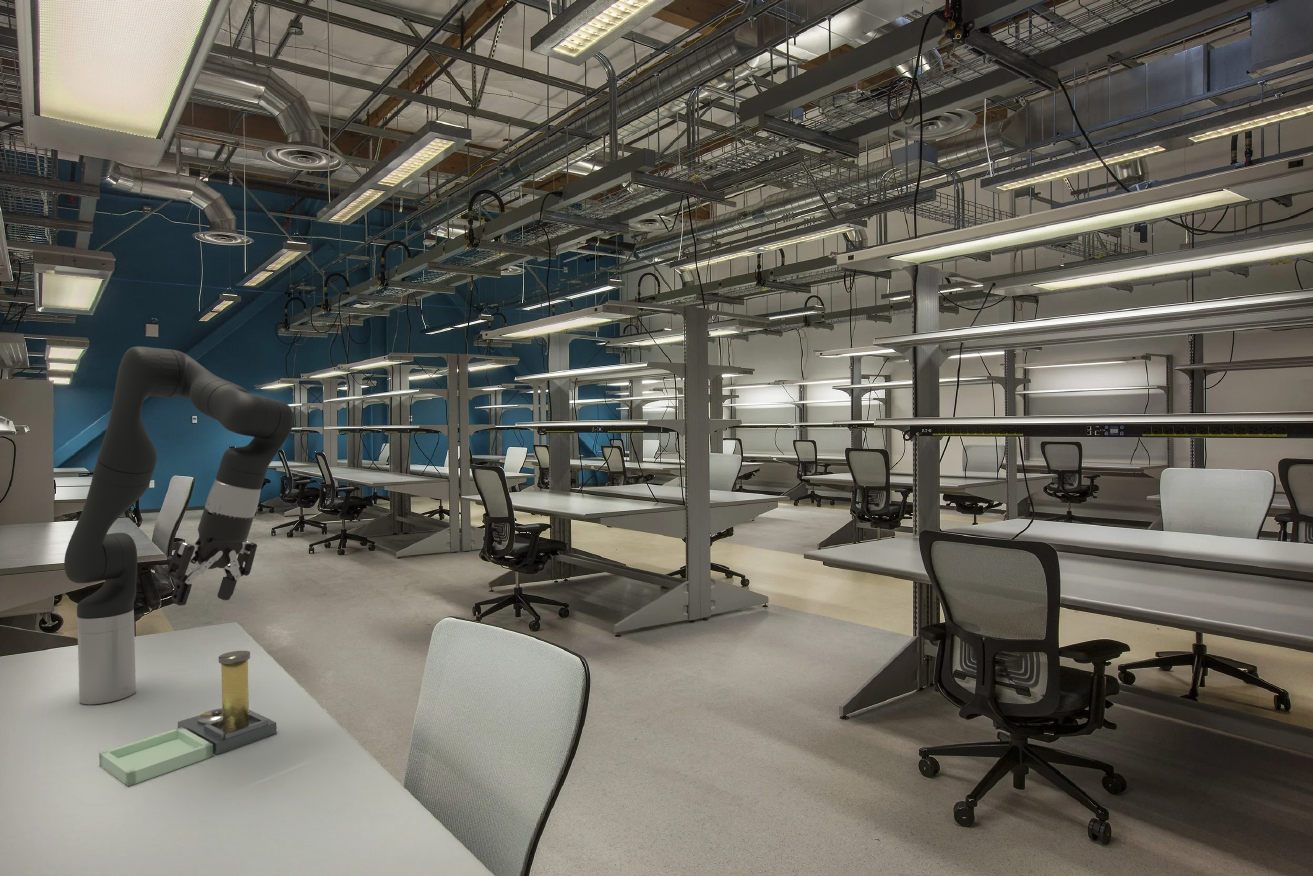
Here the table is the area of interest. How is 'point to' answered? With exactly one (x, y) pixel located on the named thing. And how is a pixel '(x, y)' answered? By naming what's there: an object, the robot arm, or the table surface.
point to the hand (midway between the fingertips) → (201, 601)
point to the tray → (155, 755)
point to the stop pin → (235, 689)
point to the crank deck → (212, 731)
